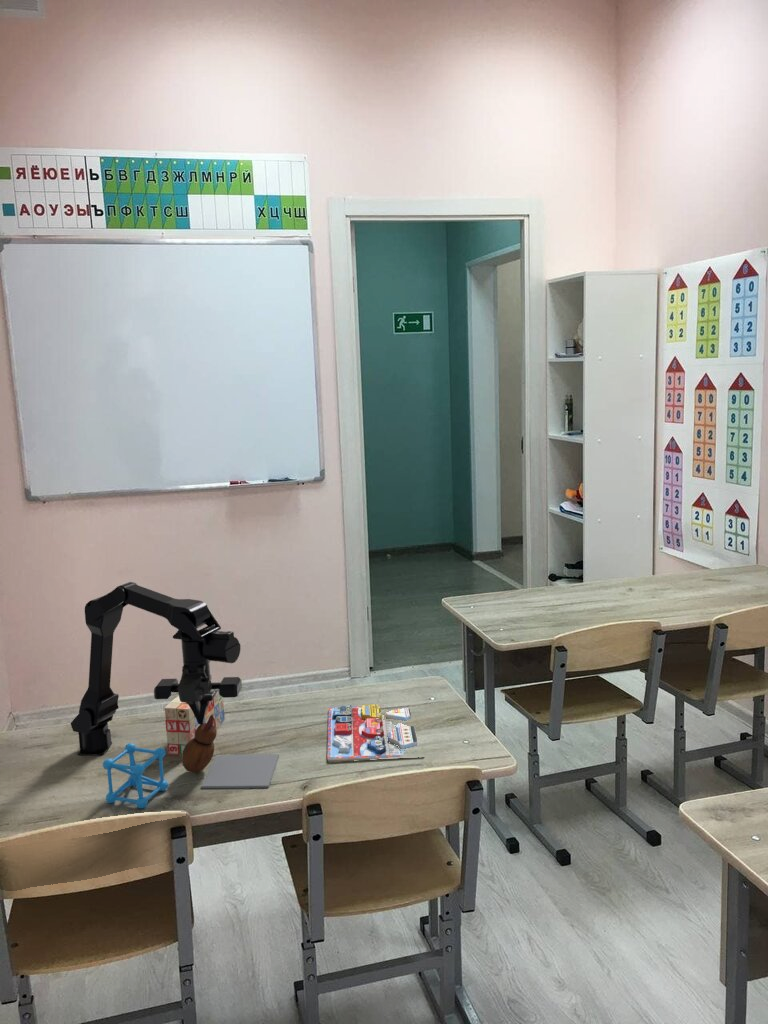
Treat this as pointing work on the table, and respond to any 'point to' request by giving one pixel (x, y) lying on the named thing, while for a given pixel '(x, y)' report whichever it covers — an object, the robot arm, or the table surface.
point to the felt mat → (241, 771)
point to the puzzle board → (367, 733)
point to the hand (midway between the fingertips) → (201, 723)
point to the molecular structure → (135, 775)
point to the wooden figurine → (200, 747)
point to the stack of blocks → (188, 722)
